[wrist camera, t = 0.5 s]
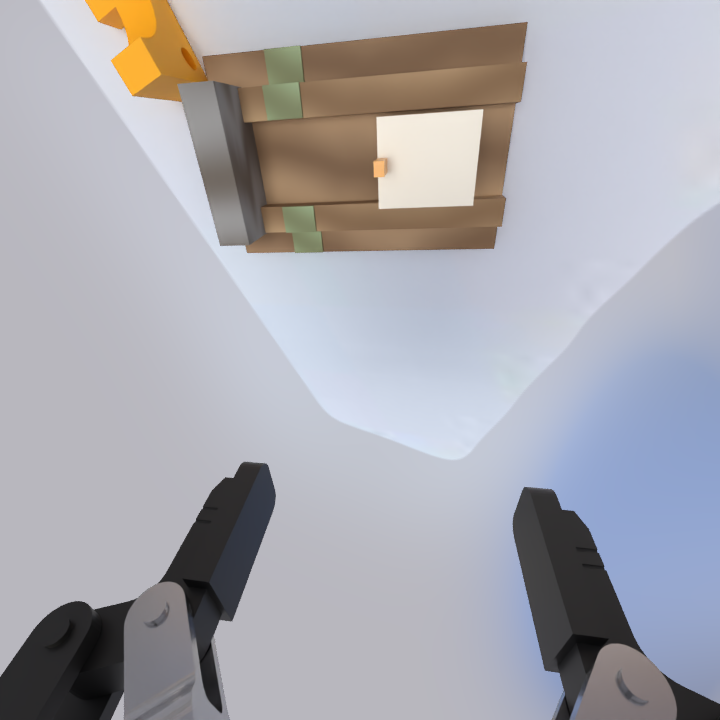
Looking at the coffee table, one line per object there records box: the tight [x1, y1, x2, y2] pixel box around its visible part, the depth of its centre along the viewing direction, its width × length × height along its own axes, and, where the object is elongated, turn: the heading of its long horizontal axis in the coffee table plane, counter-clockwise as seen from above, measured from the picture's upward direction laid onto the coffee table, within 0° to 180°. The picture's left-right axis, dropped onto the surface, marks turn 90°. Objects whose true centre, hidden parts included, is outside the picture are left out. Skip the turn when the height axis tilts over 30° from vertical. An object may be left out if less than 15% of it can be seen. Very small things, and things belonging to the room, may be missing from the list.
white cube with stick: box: [373, 109, 483, 209], centre depth 23 cm, size 5×6×8 cm
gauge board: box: [177, 22, 528, 253], centre depth 26 cm, size 14×22×6 cm, turn 93°
